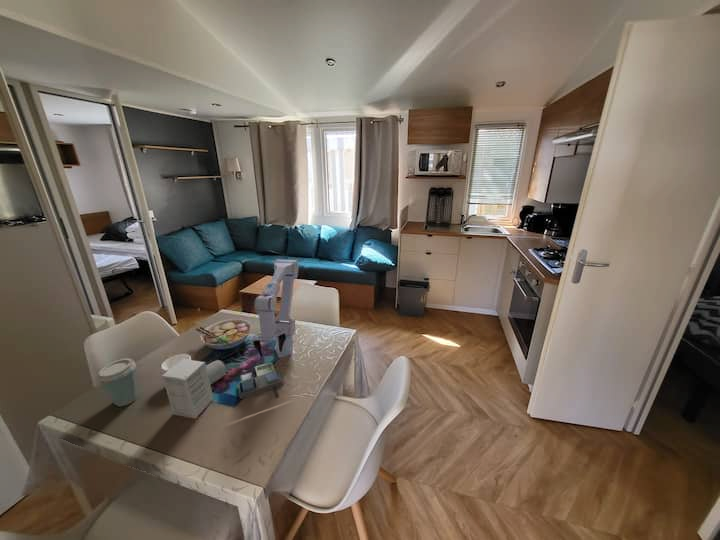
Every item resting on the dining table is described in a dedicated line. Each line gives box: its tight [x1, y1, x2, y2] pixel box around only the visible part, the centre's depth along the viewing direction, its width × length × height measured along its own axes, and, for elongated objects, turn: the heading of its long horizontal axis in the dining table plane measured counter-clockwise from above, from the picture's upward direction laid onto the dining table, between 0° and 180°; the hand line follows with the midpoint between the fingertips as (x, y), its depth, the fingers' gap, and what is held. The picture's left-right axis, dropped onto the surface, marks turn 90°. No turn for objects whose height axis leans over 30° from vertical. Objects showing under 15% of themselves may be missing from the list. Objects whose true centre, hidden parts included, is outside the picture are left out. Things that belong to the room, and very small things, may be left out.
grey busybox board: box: [237, 369, 284, 400], centre depth 106 cm, size 12×16×3 cm
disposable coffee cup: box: [96, 357, 139, 407], centre depth 99 cm, size 11×11×15 cm
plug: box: [240, 372, 255, 393], centre depth 105 cm, size 4×4×6 cm
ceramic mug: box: [206, 359, 227, 386], centre depth 111 cm, size 11×8×8 cm
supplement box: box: [161, 359, 214, 419], centre depth 96 cm, size 10×9×17 cm
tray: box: [254, 361, 276, 377], centre depth 116 cm, size 7×7×2 cm
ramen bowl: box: [195, 318, 253, 350], centre depth 134 cm, size 25×23×8 cm
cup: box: [160, 353, 192, 374], centre depth 109 cm, size 10×10×9 cm
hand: (271, 353), depth 113 cm, fingers open, 7 cm apart
